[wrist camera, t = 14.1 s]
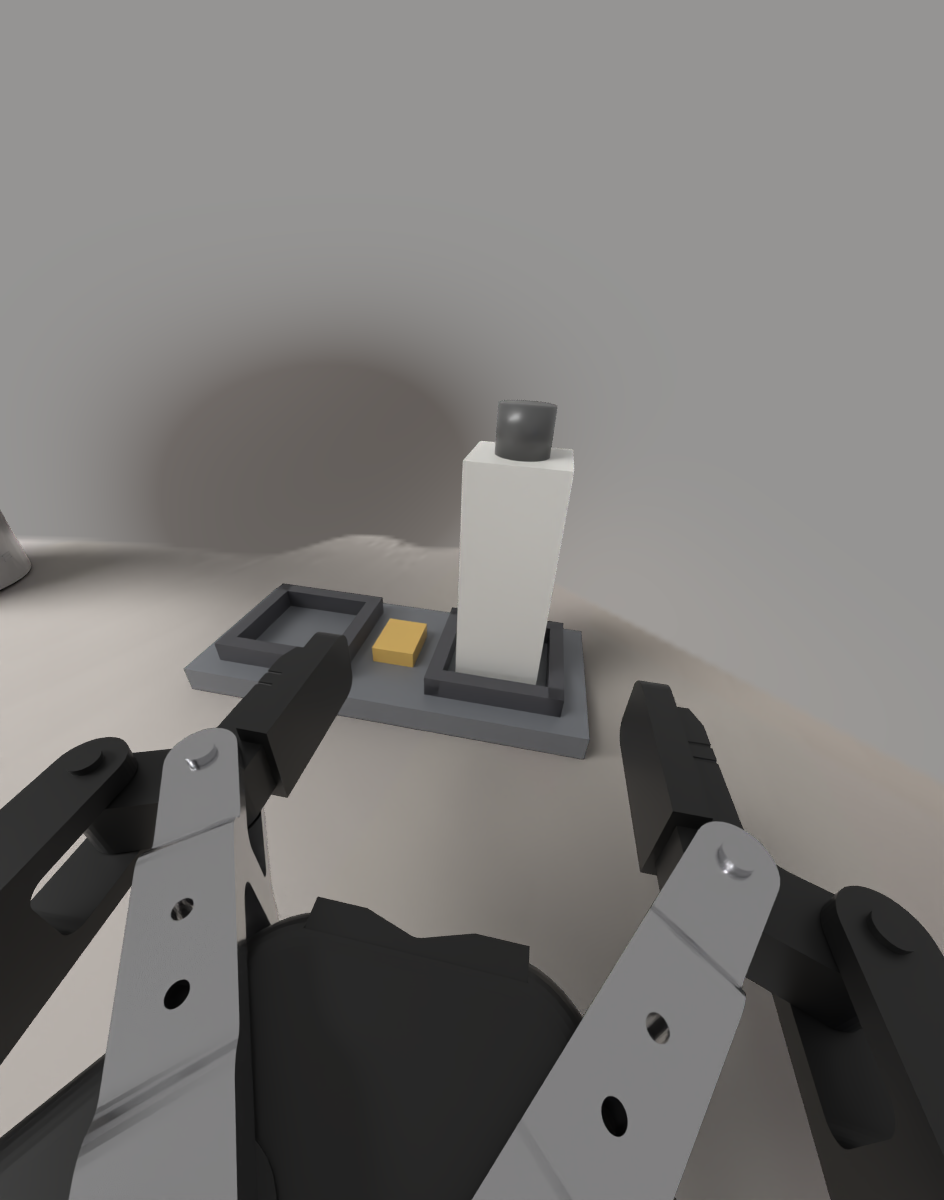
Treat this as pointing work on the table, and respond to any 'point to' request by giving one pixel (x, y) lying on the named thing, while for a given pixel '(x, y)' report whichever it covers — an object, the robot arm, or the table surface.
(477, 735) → the power strip
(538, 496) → the plug
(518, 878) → the table surface
